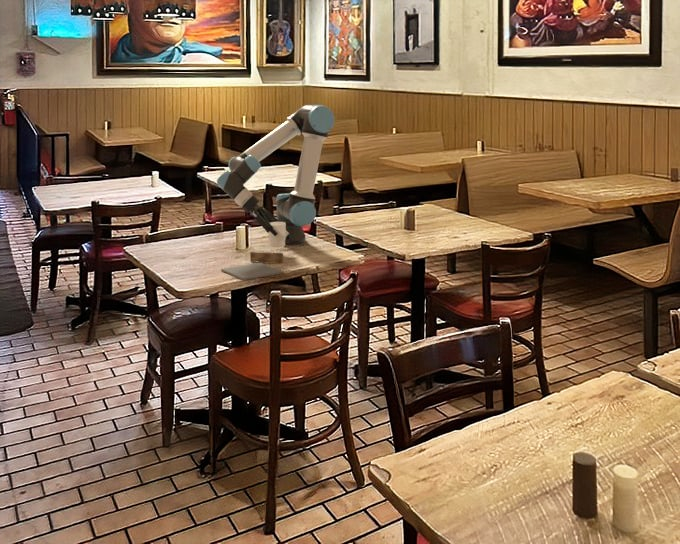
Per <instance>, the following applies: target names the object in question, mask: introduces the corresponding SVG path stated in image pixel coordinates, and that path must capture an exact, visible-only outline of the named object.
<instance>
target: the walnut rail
mask: <svg viewBox="0 0 680 544" xmlns="http://www.w3.org/2000/svg"><path fill="white" fill-rule="evenodd" d="M249 255H250V262H252V261H258V262H257V263H266V262H270V263H271V264H279V265H281V264H283V263H284V253H282V252H268V251H257V250H255V251H253V250H252V251H250V252H249ZM270 263H269V264H270Z"/></svg>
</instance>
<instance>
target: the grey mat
mask: <svg viewBox="0 0 680 544" xmlns="http://www.w3.org/2000/svg"><path fill="white" fill-rule="evenodd" d="M223 271H224V272H223ZM221 272H223V273H225V272H226V273H225V274H227V273H228V274H227V275H230V276H232V277H235V278H237V279H239V280H242V281H246V280H252V279H253V280H254V279H258V278H264V277H269V276H274V275H280V274H283V273H284V270H281V269H277V268H276V267H272V266H270V265H267V264H264V263H263V262H253V263H249V264H244V265H236V266H232V267H224V268H221Z"/></svg>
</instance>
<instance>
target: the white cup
mask: <svg viewBox="0 0 680 544" xmlns="http://www.w3.org/2000/svg"><path fill="white" fill-rule="evenodd" d="M270 224H271V225H272V226H273V228H274V227H275V228H276V229H277V230H278V231H279V232H280V233H281V234H282V235H283V236H284V237H285V238H284V239H283V240H282V241H281V242H280V241H279V240H278V239H277V238H276V237H275V236H273V235H272V234H271V233H270V231H269V233H268V240H269V242H268V243H269V247H271V248H282V247H283V248H284V247H285V246H286V245H285V239H286V223H285V222H270Z"/></svg>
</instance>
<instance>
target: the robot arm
mask: <svg viewBox="0 0 680 544" xmlns="http://www.w3.org/2000/svg"><path fill="white" fill-rule="evenodd" d="M334 124H335V115H334V113H333V111H332V109H331V108H329V106H325V105H323V104H311V103H310V104H309V103H308V104H305V105H303V106H301V108H299V109H297V110H296V111H294V112H293V113H292V114H291V115H289V116H288V117H287V118H286V121H285V122H284V123H282V124H281V125H279V126H278V127H276V128H275V129H274V130H272V131H271V132H270V133H268V134H266V135H265V136H264V137H262V138H261V139H260V140H258V141H257V142H255V144H253V145H252V146H250V147H249V148H247V149H246V150H244V151H243V152H242V153H240V154H239V155H237V156H233V157H231V158H230V159H229V161H228V163H227V164H228V165H227V166H228V169H229V170H225V171H223V173H222V174H220V176H219V177H218V178H217V180H216V184H217V185H218V186H219V187H220V188H221V190H222V191H224V193H225V194H227V196H229V197H230V198H231V199H232V200H233V201H234V203H235V204H237V205H238V206H239V207H241V209H242V210H243V211H244V212H245V213H248V214H249V213H250V212H251V215H250V216H251V217H252V218H253V219H254V220H255V221H256V222H258V224H259V225H260V226H261V227H262V228H263V229H264V230H265V232H266V233H269V231H270V233H271V234H272V235H273V236H275V237H276V238H277V239H278V240H279V241H280V242H281V241H282V240H283V239H284V238H285V237H284V236H283V235H282V234H281V233H280V232H279V231H278V230H277V229H276V228H275V227H274V228H273V226H272V225H271V224H270V222H285V223H286V239H285V246H290V245H301V244H304V243H306V242H307V239H306V238H307V237H306V234H305V231H304V228H303V227H306V226H309V225H310V224H311V223H313V221H314V220H315V218H316V215H317V209H316V207H315V202H316V197H315V196H314V188H315V184H316V179H317V174H318V170H319V169H318V168H319V164H320V159H321V153H322V149H323V143H324V141H325V140H327V139H328V137H329V136H328V135H329V132H330V131H331V130H332V129H333V127H334ZM301 135H303V137H304V138H303V143H302V148H301V152H300V153H301V154H300V158H299V163H298V169H297V173H296V180H295V183H294V189H293V190H292V191H290V192H289V193H279V194H277V195H276V200H275V203H276V217H275V216H274V215H273V214H271V212H270V211H268V210H267V209H266V208H265V207H264V206H263V205H261V206H260V205H258V204H259V203H260V200H259V199H258V198H257V197H256V196H255V195H253V193H252V192H251V191H250V190H249V189H248V188H247V187H246V186H244V185H245V184H246V183H247V182H248V181H249V180H250V179H251V178H252V177H253V176H254V175H255V174H256V173H258V172H259V170H260V169H261V167H262V165H261V163H260V162H261V161H262V160H264V159H265V158H267V157H268V156H269V155H271V154H273V152H274V151H276V150H278V149H279V148H280V147H282V146H283V145H285V144H286V143H287V142H289V141H290V140H291V139H294V138H295V137H296V136H301Z"/></svg>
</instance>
